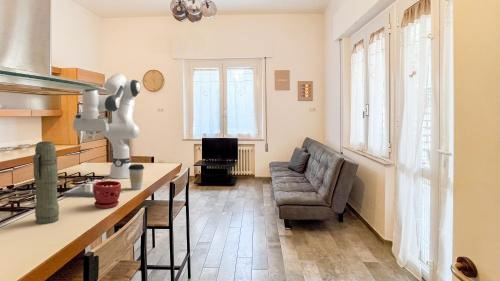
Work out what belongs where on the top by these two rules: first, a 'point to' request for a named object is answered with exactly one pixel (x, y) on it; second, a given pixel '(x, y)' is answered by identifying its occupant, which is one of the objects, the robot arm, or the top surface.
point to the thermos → (46, 183)
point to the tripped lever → (88, 188)
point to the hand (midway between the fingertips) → (91, 138)
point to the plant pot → (106, 193)
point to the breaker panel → (78, 192)
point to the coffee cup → (136, 176)
